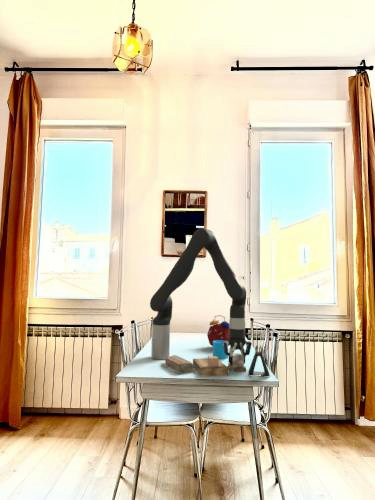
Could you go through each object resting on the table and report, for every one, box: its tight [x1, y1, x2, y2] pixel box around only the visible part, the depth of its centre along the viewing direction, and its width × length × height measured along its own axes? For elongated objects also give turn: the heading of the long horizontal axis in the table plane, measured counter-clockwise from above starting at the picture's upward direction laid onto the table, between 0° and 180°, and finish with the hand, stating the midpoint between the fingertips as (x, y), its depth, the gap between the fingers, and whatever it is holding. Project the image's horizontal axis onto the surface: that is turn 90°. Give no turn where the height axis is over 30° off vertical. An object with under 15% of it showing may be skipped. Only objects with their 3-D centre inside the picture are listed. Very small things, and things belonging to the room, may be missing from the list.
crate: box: [207, 355, 220, 367], centre depth 149 cm, size 4×4×4 cm
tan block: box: [227, 352, 247, 372], centre depth 156 cm, size 6×8×6 cm
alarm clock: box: [206, 314, 230, 347], centre depth 203 cm, size 15×9×20 cm, turn 46°
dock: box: [192, 357, 229, 377], centre depth 154 cm, size 12×19×4 cm, turn 10°
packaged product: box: [160, 354, 197, 375], centre depth 156 cm, size 18×5×10 cm
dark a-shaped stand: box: [248, 345, 271, 378], centre depth 149 cm, size 9×6×12 cm, turn 80°
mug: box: [212, 340, 229, 360], centre depth 183 cm, size 12×8×8 cm
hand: (236, 364), depth 156 cm, fingers closed on tan block, 5 cm apart
